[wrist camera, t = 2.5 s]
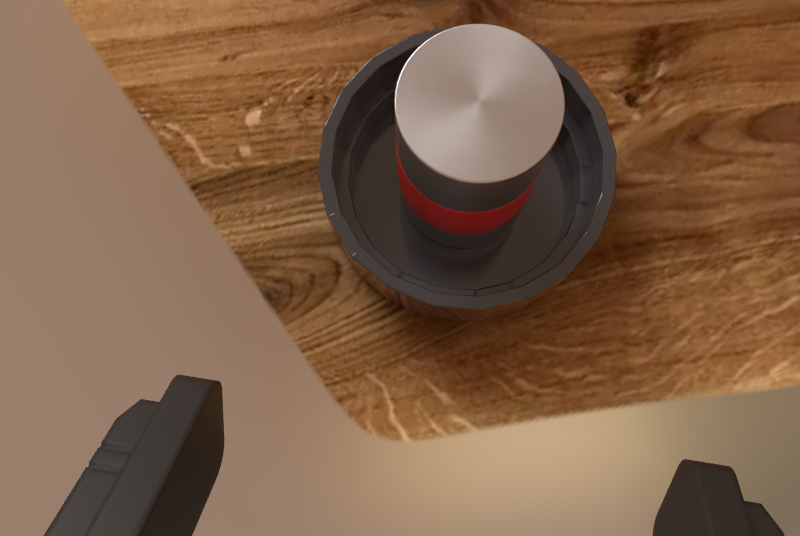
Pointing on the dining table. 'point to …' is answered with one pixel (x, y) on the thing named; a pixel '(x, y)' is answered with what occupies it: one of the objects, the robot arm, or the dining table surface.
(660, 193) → the dining table surface
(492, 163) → the can
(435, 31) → the stoneware bowl
